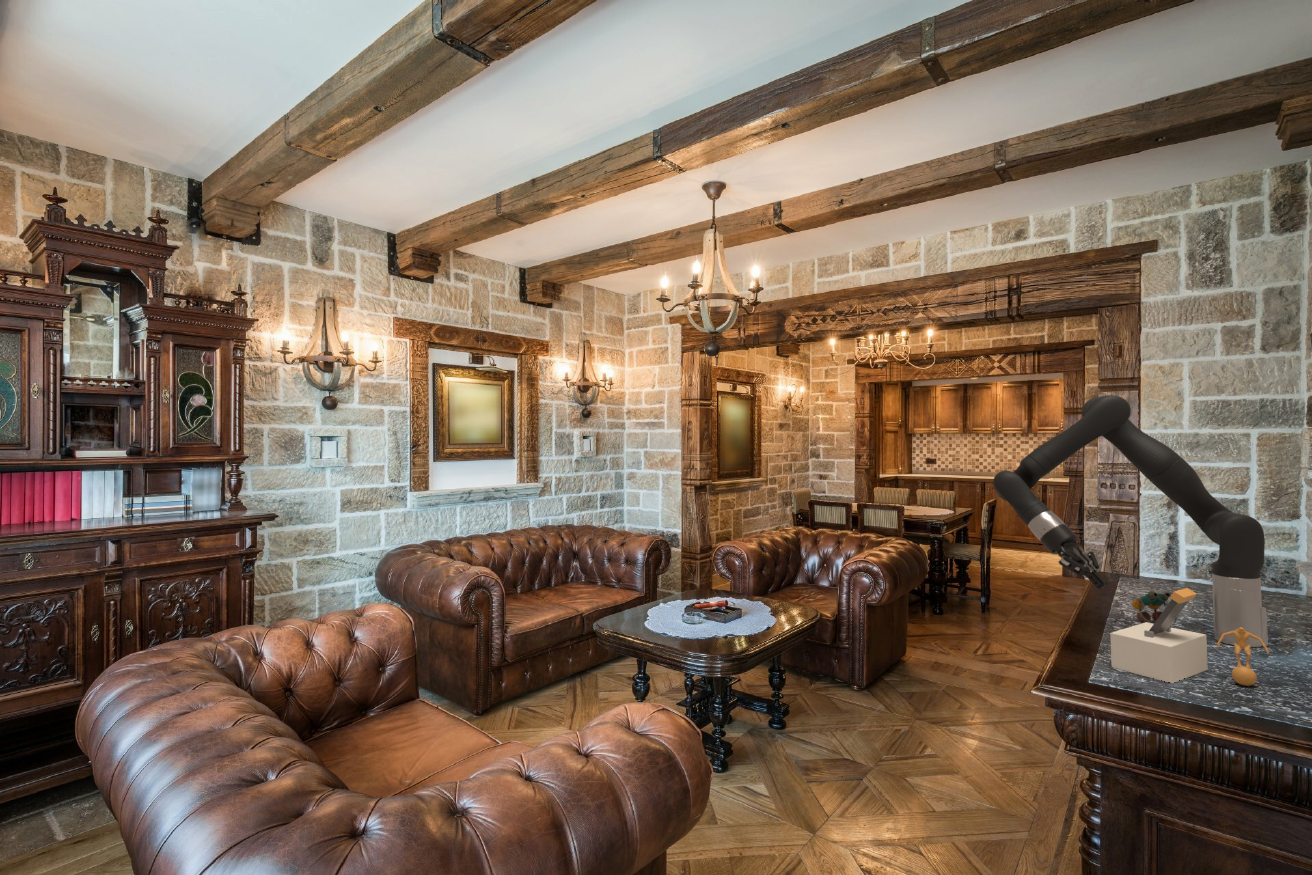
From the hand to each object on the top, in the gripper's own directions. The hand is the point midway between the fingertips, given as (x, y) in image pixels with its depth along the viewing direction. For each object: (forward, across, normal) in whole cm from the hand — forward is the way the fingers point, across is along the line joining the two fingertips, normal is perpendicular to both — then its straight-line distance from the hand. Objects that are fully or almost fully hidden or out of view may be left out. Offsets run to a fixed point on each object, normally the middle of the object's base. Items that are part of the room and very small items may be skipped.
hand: (1103, 586), depth 156 cm
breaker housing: (+20, 0, +4) cm, 20 cm away
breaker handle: (+14, 0, -2) cm, 14 cm away
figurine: (+30, +5, -6) cm, 30 cm away
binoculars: (+7, +39, +17) cm, 43 cm away
